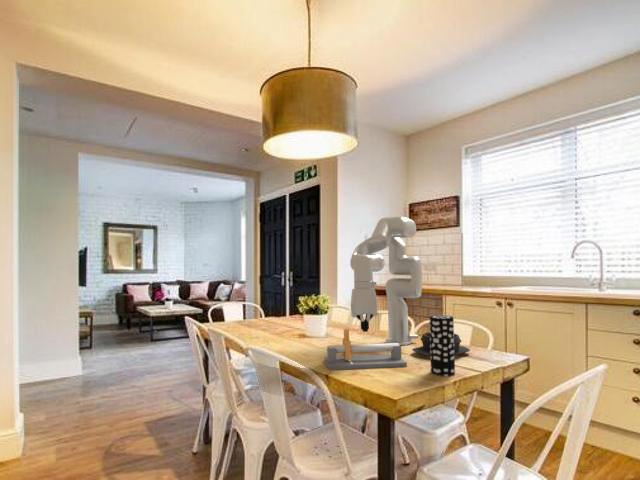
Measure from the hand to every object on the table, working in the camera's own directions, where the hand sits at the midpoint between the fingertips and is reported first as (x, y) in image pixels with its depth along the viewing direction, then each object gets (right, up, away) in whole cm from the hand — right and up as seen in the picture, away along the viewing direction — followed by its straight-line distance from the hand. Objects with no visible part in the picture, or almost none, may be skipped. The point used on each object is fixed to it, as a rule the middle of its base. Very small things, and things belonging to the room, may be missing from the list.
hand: (364, 331), depth 158 cm
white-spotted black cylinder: (+26, -12, -16) cm, 33 cm away
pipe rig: (0, -12, -2) cm, 12 cm away
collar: (-8, -10, -3) cm, 13 cm away
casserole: (+34, -13, +12) cm, 38 cm away
